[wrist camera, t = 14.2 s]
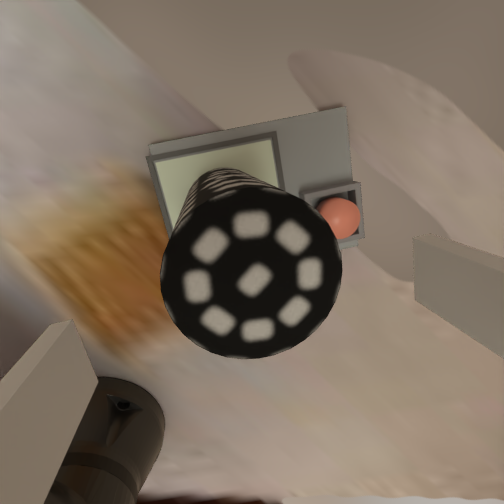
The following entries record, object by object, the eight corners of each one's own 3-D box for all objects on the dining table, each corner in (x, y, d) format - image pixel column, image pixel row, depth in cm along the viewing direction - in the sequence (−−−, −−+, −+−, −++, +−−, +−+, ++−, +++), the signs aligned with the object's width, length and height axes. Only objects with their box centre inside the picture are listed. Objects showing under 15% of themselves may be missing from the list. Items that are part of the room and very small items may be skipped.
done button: (316, 237, 35) (324, 242, 32) (311, 200, 33) (319, 204, 31) (351, 229, 35) (361, 234, 33) (348, 193, 34) (358, 195, 32)
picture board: (183, 283, 36) (181, 293, 33) (144, 146, 32) (139, 145, 29) (354, 243, 38) (366, 250, 35) (342, 107, 33) (354, 103, 30)
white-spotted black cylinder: (220, 149, 32) (246, 143, 13) (280, 203, 34) (376, 266, 15) (168, 213, 33) (120, 295, 14) (230, 261, 35) (261, 387, 16)
